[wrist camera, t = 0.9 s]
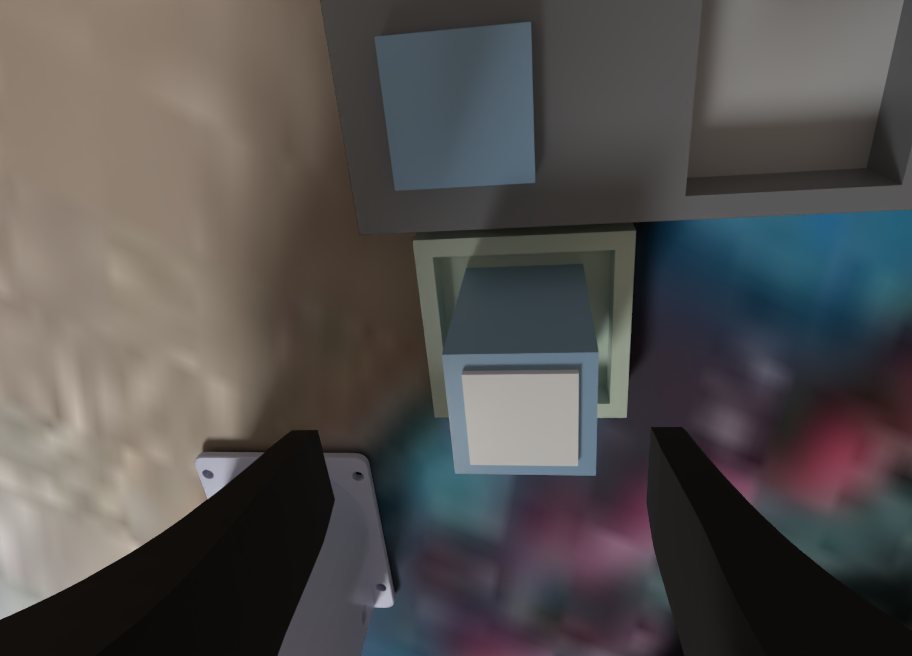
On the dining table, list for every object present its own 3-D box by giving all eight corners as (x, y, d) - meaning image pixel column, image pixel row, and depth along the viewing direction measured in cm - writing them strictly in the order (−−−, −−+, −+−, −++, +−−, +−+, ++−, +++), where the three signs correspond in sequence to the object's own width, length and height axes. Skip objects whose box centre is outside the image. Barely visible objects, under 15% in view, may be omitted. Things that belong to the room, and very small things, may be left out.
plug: (582, 365, 22) (596, 480, 17) (474, 366, 23) (454, 478, 17) (582, 263, 20) (599, 356, 15) (466, 268, 21) (440, 358, 16)
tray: (620, 389, 23) (626, 417, 22) (441, 390, 24) (434, 417, 23) (628, 213, 20) (636, 230, 18) (421, 223, 21) (412, 240, 19)
